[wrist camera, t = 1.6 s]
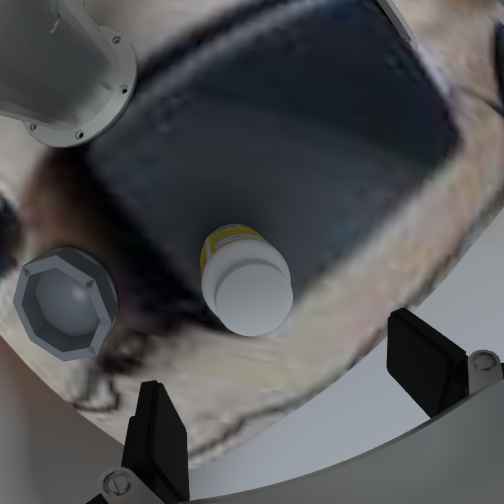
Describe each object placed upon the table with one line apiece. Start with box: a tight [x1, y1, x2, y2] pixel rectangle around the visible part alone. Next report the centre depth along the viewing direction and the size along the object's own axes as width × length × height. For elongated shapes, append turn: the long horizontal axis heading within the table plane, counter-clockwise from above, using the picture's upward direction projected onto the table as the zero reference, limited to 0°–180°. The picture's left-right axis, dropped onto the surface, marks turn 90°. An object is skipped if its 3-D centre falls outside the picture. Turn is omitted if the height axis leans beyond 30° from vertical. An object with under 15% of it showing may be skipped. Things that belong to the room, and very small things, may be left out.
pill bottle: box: [200, 224, 293, 336], centre depth 23 cm, size 6×6×11 cm
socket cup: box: [13, 247, 119, 361], centre depth 25 cm, size 10×10×4 cm
